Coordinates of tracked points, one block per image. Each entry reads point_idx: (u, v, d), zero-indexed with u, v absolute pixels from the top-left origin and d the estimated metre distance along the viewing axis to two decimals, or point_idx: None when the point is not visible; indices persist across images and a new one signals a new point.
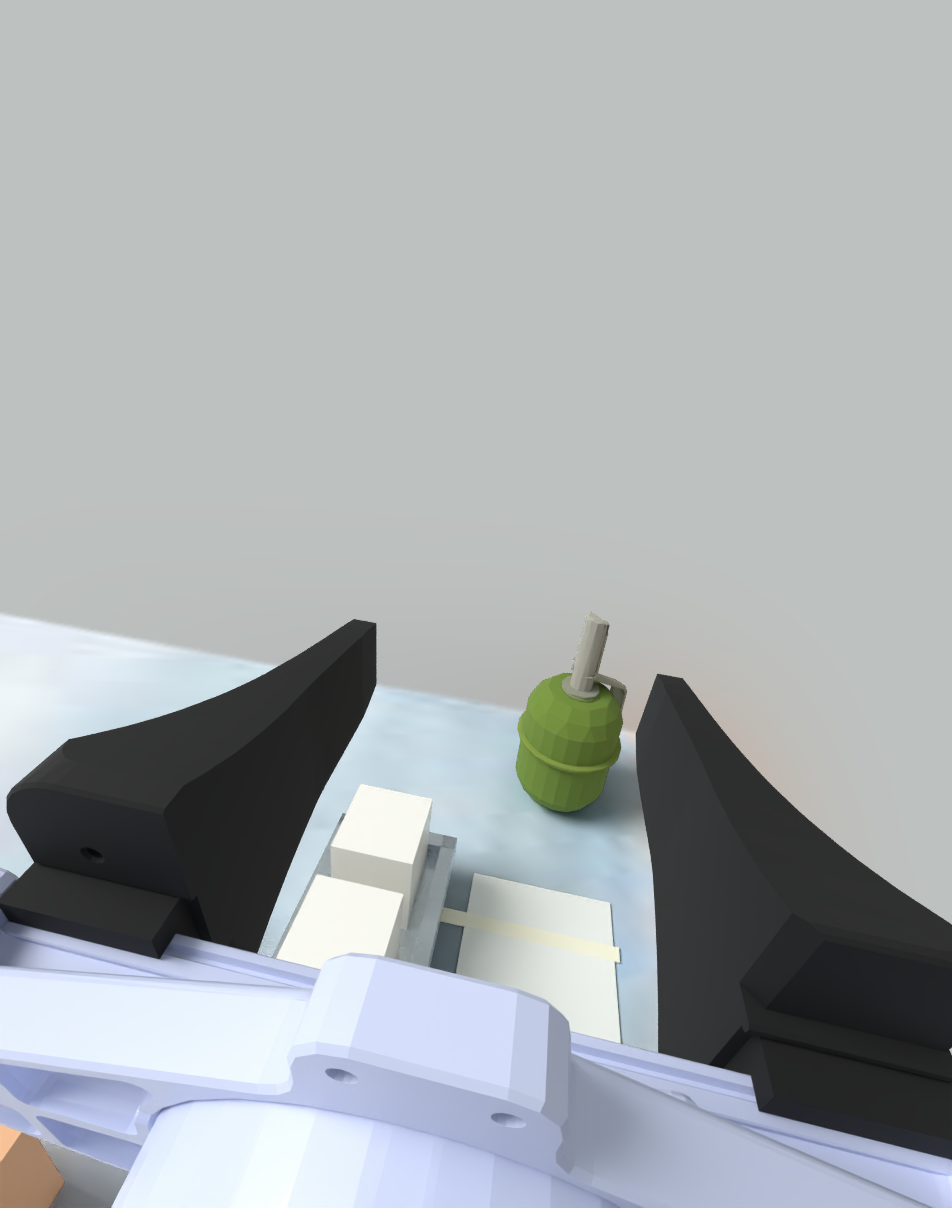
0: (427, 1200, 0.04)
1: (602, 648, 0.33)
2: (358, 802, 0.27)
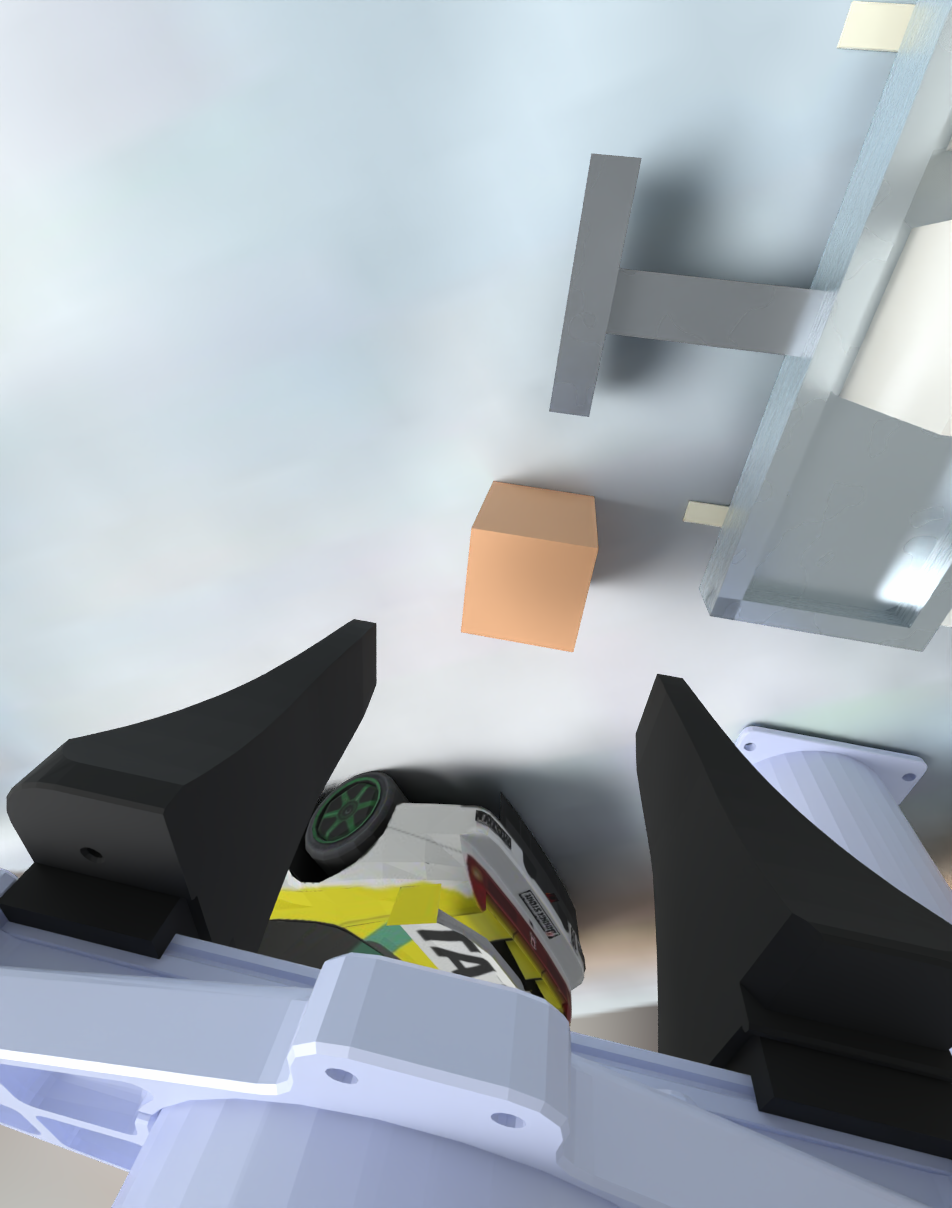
0: (427, 1200, 0.04)
1: None
2: None
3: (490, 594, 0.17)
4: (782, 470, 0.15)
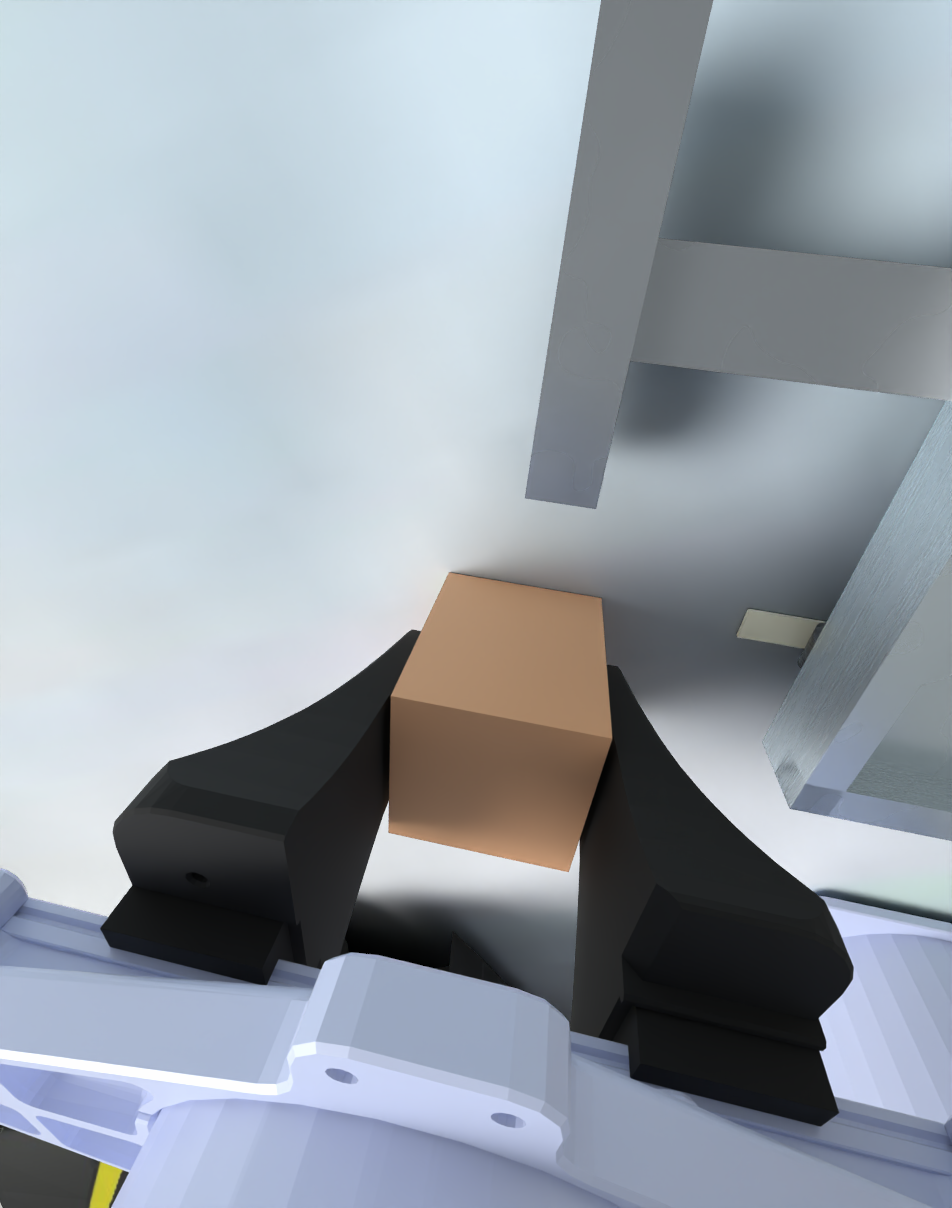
0: (427, 1200, 0.04)
1: None
2: None
3: (431, 788, 0.11)
4: (946, 607, 0.09)
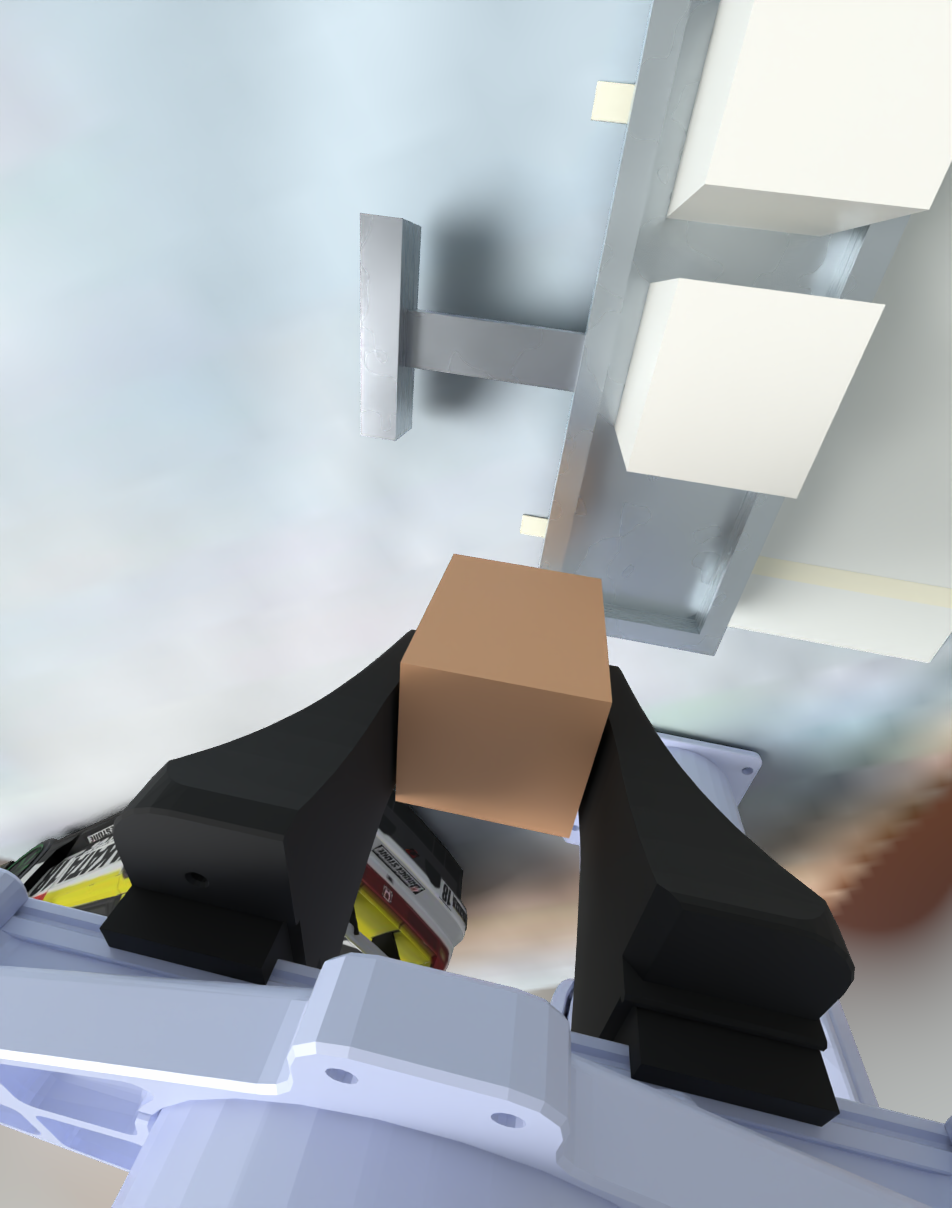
0: (427, 1200, 0.04)
1: None
2: None
3: (438, 755, 0.11)
4: (567, 492, 0.17)
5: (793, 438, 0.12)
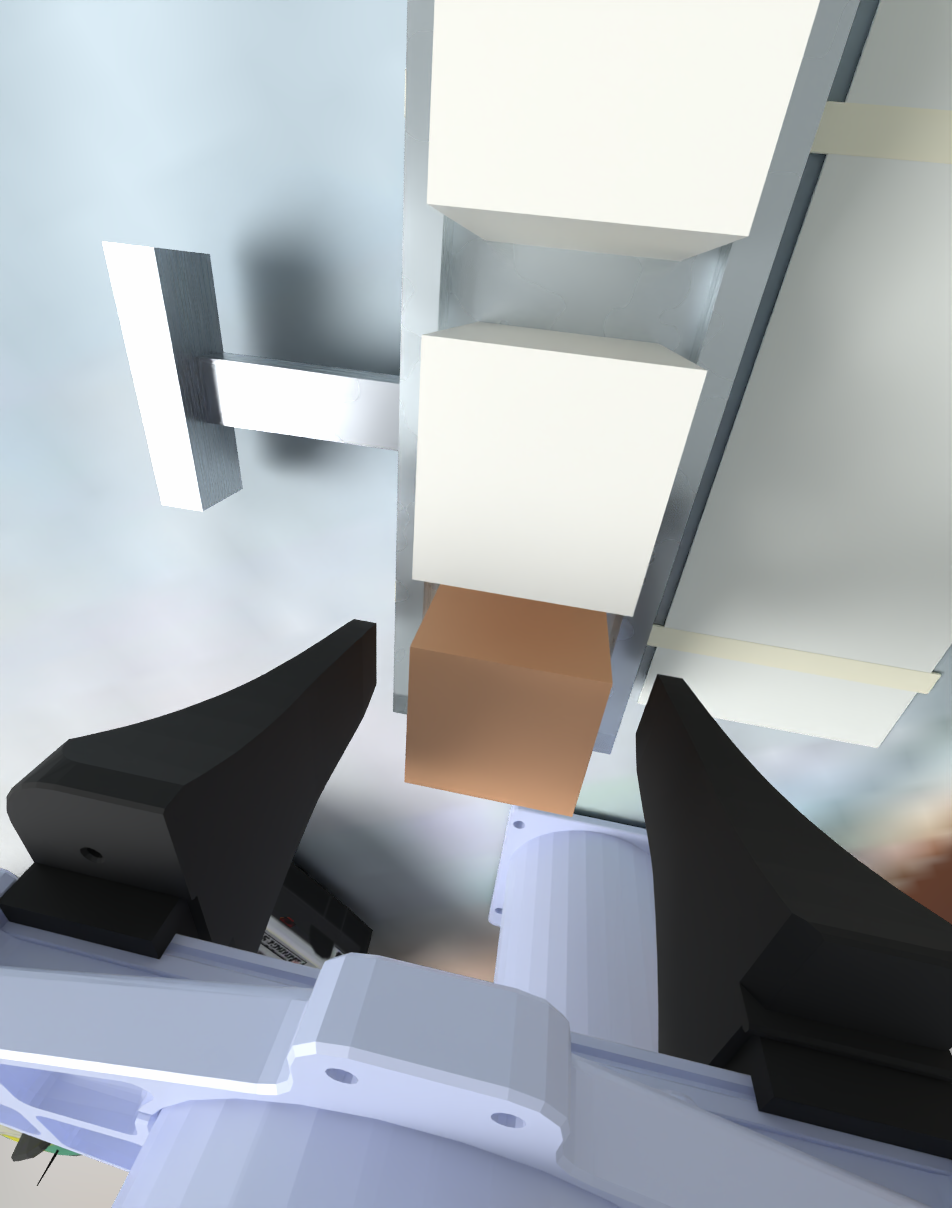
0: (427, 1200, 0.04)
1: None
2: None
3: (445, 737, 0.11)
4: (410, 571, 0.14)
5: (614, 543, 0.09)
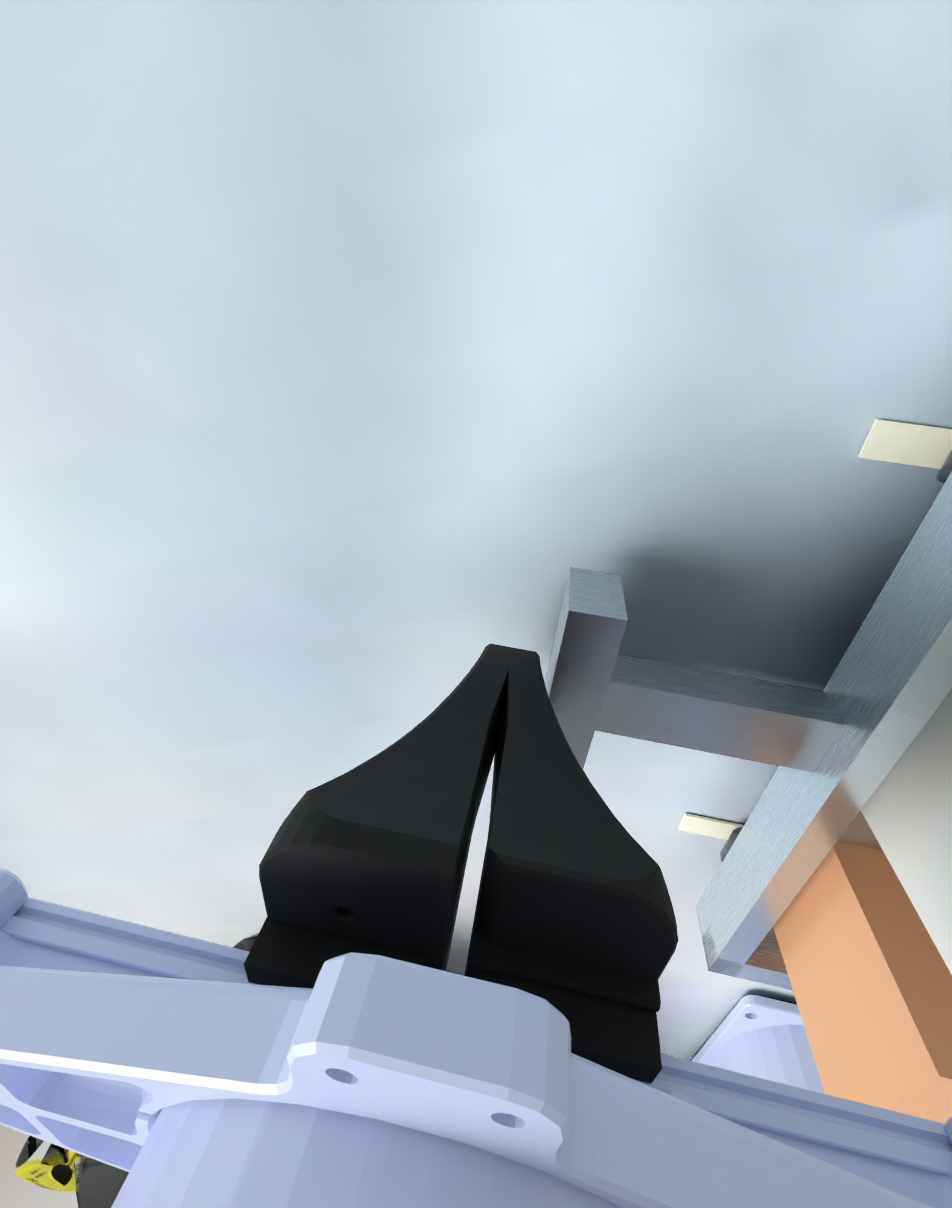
0: (427, 1200, 0.04)
1: None
2: None
3: None
4: (791, 877, 0.13)
5: None
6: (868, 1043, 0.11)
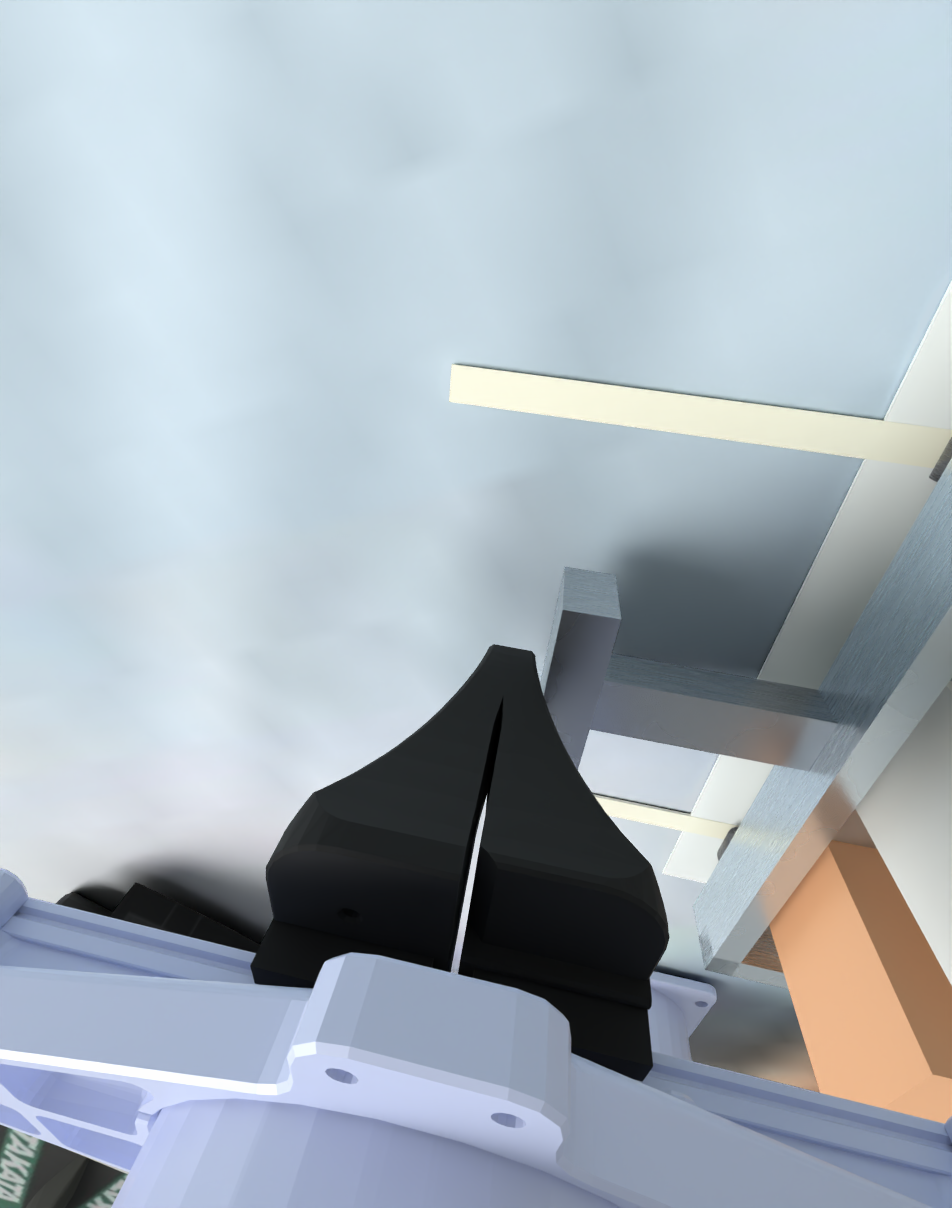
0: (427, 1200, 0.04)
1: None
2: None
3: None
4: (786, 876, 0.13)
5: None
6: (862, 1042, 0.11)
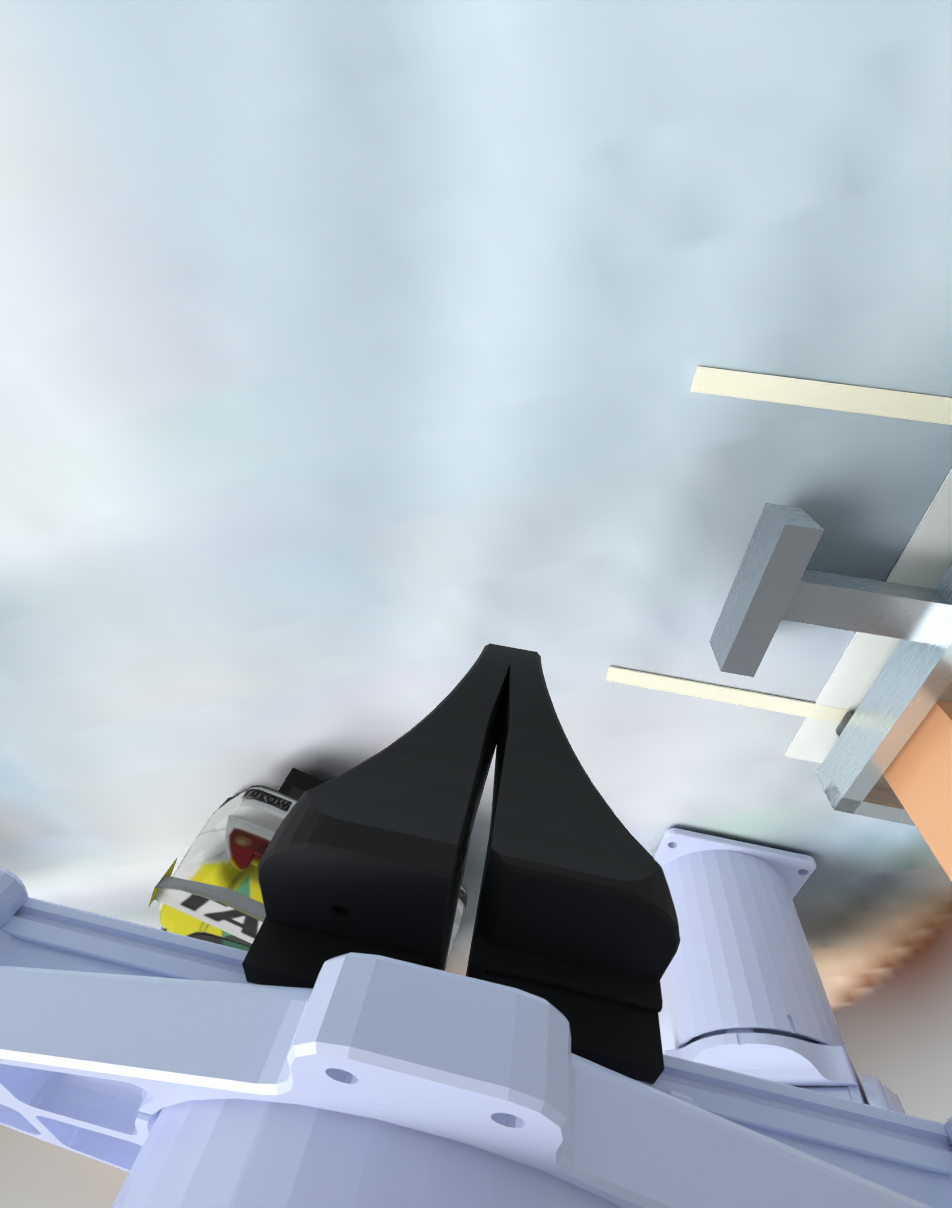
0: (427, 1200, 0.04)
1: None
2: None
3: None
4: (908, 721, 0.19)
5: None
6: None
